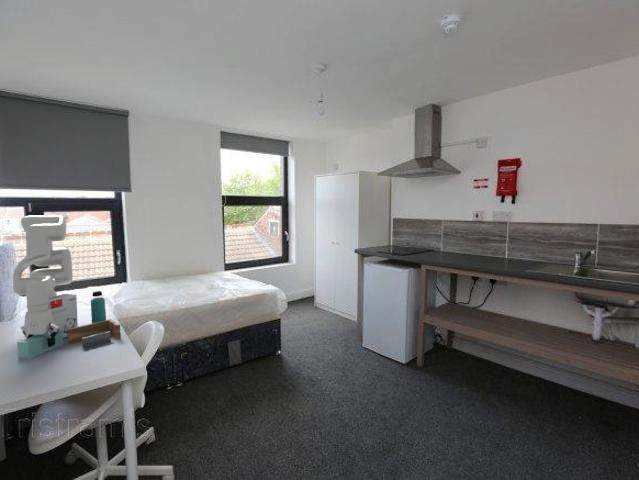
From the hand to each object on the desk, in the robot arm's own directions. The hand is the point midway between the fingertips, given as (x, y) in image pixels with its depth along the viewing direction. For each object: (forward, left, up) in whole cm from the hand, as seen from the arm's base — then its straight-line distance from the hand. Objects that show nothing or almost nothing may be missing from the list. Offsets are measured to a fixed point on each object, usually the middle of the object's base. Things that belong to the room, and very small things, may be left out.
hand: (41, 345), depth 143 cm
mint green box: (0, 0, -3) cm, 3 cm away
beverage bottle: (-12, +26, -3) cm, 28 cm away
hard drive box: (-14, +9, -3) cm, 16 cm away
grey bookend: (+12, +18, -2) cm, 22 cm away
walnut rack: (+5, +19, -2) cm, 19 cm away
